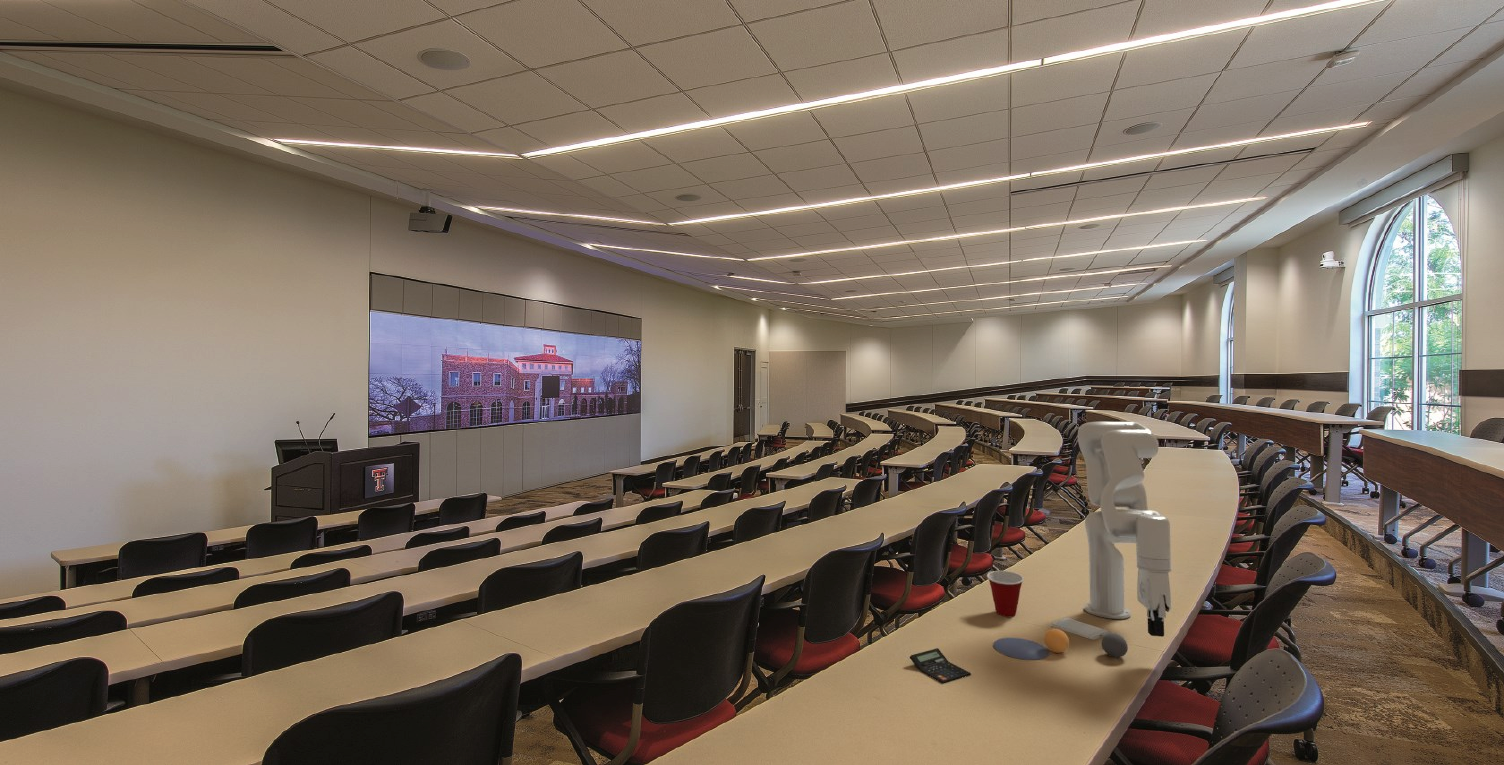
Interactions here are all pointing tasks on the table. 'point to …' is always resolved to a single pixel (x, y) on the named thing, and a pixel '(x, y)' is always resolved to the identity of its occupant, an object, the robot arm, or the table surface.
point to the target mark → (1021, 648)
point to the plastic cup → (1005, 591)
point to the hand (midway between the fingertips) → (1156, 635)
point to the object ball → (1056, 640)
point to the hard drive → (1080, 628)
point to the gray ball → (1114, 645)
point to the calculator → (938, 666)
